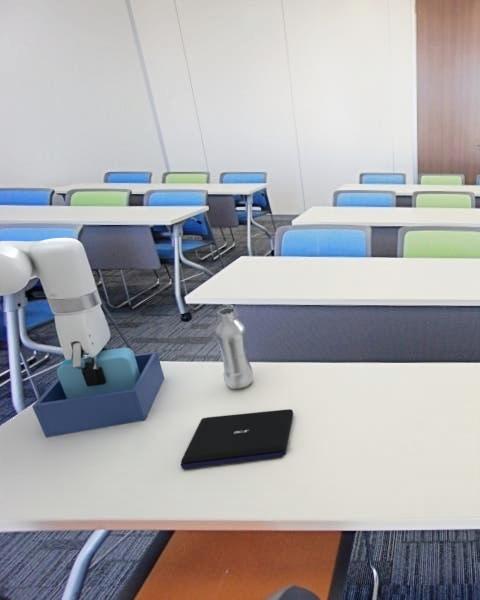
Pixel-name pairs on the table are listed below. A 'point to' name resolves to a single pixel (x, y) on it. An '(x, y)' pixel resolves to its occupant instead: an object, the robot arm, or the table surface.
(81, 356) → the robot arm
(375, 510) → the table surface
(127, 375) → the light blue rounded block
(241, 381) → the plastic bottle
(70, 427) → the blue bin
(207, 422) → the laptop
